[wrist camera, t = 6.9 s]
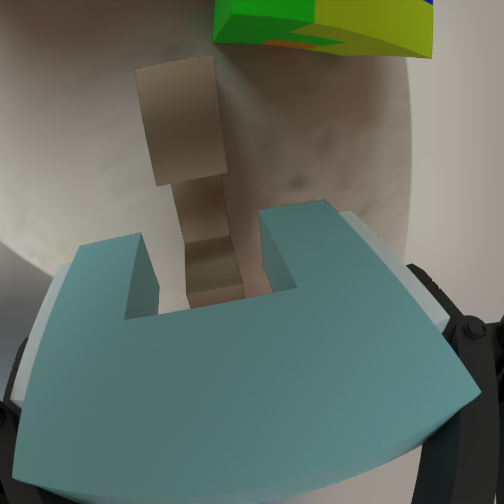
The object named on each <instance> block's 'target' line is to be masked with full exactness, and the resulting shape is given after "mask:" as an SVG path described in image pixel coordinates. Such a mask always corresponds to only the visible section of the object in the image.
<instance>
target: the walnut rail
mask: <svg viewBox="0 0 504 504" xmlns="http://www.w3.org/2000/svg"><path fill="white" fill-rule="evenodd" d="M134 70H135V77H136V83H137V90H138V96H139V102H140V107H141V113H142V118H143V124H144V129H145V134H146V139H147V144H148V149H149V154H150V158H151V163H152V168H153V172H154V177H155V181H156V185H157V186H162V185H166V184H171V187H172V192H173V196H174V201H175V205H176V209H177V214H178V218H179V222H180V226H181V231H182V235H183V239H184V243H185V273H186V295H187V298H188V301H189V305H190V308H191V309H194V308H199V307H205V306H210V305H215V304H220V303H226V302H231V301H236V300H241V299H245V294H244V287H243V282H242V278H241V275H240V271H239V268H238V264H237V260H236V257H235V253H234V249H233V246H232V242H231V238H230V234H229V228H228V221H227V214H226V207H225V201H224V194H223V187H222V180H221V174H225V173H228V171H227V163H226V155H225V148H224V140H223V132H222V124H221V116H220V107H219V99H218V91H217V83H216V74H215V66H214V57H213V55H205V56H198V57H192V58H186V59H180V60H175V61H169V62H165V63H160V64H155V65H151V66H146V67H142V68H138V69H134Z"/></svg>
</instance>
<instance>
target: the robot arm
mask: <svg viewBox="0 0 504 504" xmlns="http://www.w3.org/2000/svg"><path fill="white" fill-rule="evenodd" d="M338 213H339V214H340V215H341V216H342V217H343V218H344V219H345V220H346V221H347V223H348V224H349V225H350V226H351V227H352V228H353V229H354V230H355V231H356V232H357V233H358V234H359V235H360V236H361V238H362V239H363V240H364V241H365V242H366V243H367V244H368V245H369V246H370V247H371V249H372V250H373V251H374V252H375V253H376V254H377V255H378V256H379V258H380V259H381V260H382V261H383V262H384V263H385V264H386V266H387V267H388V268H389V269H390V270H391V271H392V273H393V274H394V275H395V276H396V277H397V278H398V280H399V281H400V282H401V283H402V284H403V286H404V287H405V288H406V289H407V290H408V292H409V293H410V294H411V295H412V297H413V298H414V299H415V300H416V302H417V303H418V304H419V305H420V307H421V308H422V309H423V310H424V312H425V313H426V314H427V315H428V317H429V318H430V319H431V321H432V322H433V323H434V325H435V326H436V327H437V329H438V330H439V331H440V333H441V334H442V335H443V337H444V338H445V339H446V341H447V342H448V343H449V345H450V346H451V348H452V349H453V350H454V352H455V353H456V355H457V356H458V357H459V359H460V360H461V362H462V363H463V365H464V366H465V368H466V369H467V371H468V372H469V374H470V375H471V377H472V378H473V380H474V381H475V383H476V384H477V386H478V387H479V389H480V390H481V393H480V394H479V396H478V397H477V398H475V399H474V400H472V401H471V402H469V403H468V404H466V405H465V406H464V407H462V408H461V409H460V410H459V411H458V412H457V413H456V414H455V415H453V416H452V417H451V418H450V419H449V420H448V421H447V422H446V423H445V424H444V425H443V426H442V427H441V428H440V429H439V430H437V431H436V432H435V433H434V434H433V435H432V436H431V437H429V438H428V439H427V440H426V441H425V442H424V443H423V444H422V451H421V458H420V464H419V470H418V475H417V480H416V484H415V489H414V493H413V498H412V502H411V504H494V500H495V493H496V504H504V315H503V317H502V319H501V321H500V322H496V323H489V324H485V323H484V322H483V321H482V320H480V319H479V318H477V317H474V316H471V315H470V316H469V315H467V316H464V315H463V314H462V313H461V312H460V311H459V309H458V308H457V307H456V306H455V305H454V304H453V302H452V301H451V300H450V299H449V298H448V297H447V296H446V294H445V293H444V292H443V291H442V290H441V289H439V287H438V285H437V284H436V283H435V282H433V281H432V279H431V278H430V277H429V276H428V275H427V273H426V272H425V271H424V270H422V269H421V268H419V267H417V266H416V265H414V264H409V265H405V264H404V263H403V262H402V261H401V260H400V259H399V258H398V257H397V256H396V255H395V253H394V252H393V251H392V250H391V249H390V248H389V247H388V246H387V245H386V244H385V243H384V242H383V241H382V240H381V239H380V238H379V237H378V236H377V235H376V234H375V233H374V232H373V231H372V230H371V229H370V228H369V227H368V226H367V225H366V224H365V223H364V222H363V221H362V220H361V219H360V218H359V217H358V216H357V215H356V214H355V213H354V212H353V211H352V210H348V211H341V212H338ZM71 264H72V263H68V264H63V265H60V267H59V269H58V271H57V273H56V275H55V277H54V279H53V281H52V283H51V286H50V288H49V290H48V292H47V294H46V297H45V299H44V301H43V304H42V306H41V308H40V311H39V313H38V315H37V318H36V320H35V323H34V325H33V328H32V331H31V333H30V336H29V337H27V338H25V340H24V341H23V343H22V344H21V346H20V347H19V349H18V352H17V355H16V358H15V360H16V361H15V362H14V364H13V367H12V369H13V370H12V371H11V373H10V377H9V380H8V383H7V387H6V390H5V394H4V398H3V402H1V401H0V504H80V503H77V502H75V501H72V500H69V499H66V498H64V497H61V496H58V495H56V494H53V493H51V492H49V491H46V490H44V489H42V488H39V487H37V486H35V485H32V484H28V483H24V482H21V481H18V480H16V479H14V478H12V473H13V463H14V454H15V446H16V440H17V433H18V427H19V422H20V417H21V412H22V407H23V402H24V398H25V394H26V390H27V386H28V382H29V378H30V374H31V371H32V367H33V364H34V360H35V357H36V354H37V350H38V347H39V344H40V341H41V338H42V335H43V332H44V330H45V327H46V324H47V321H48V318H49V316H50V313H51V311H52V308H53V305H54V303H55V300H56V298H57V295H58V293H59V291H60V288H61V286H62V284H63V281H64V279H65V277H66V274H67V272H68V270H69V268H70V266H71Z"/></svg>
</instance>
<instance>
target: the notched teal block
mask: <svg viewBox="0 0 504 504" xmlns="http://www.w3.org/2000/svg"><path fill="white" fill-rule="evenodd" d="M259 219H260V231H261V242H262V254H263V266H264V269H265V272H266V275H267V277H268V280H269V282H270V285H271V287H272V290H273V292H274V293H270V294H265V295H261V296H256V297H251V298H246V299H241V300H236V301H231V302H226V303H220V304H215V305H210V306H205V307H199V308H194V309H188V310H182V311H177V312H171V313H165V314H159V315H158V305H159V288H160V287H159V284H158V281H157V278H156V275H155V273H154V270H153V267H152V264H151V261H150V258H149V255H148V252H147V249H146V246H145V243H144V240H143V237H142V234H141V232H140V233H136V234H131V235H126V236H122V237H117V238H113V239H108V240H104V241H100V242H95V243H91V244H87V245H82V246H80V247H79V249H78V251H77V253H76V255H75V257H74V259H73V261H72V264H71V266H70V268H69V270H68V272H67V274H66V277H65V279H64V281H63V284H62V286H61V288H60V291H59V293H58V295H57V298H56V300H55V303H54V305H53V308H52V311H51V313H50V316H49V318H48V321H47V324H46V327H45V330H44V332H43V335H42V338H41V341H40V344H39V347H38V350H37V354H36V357H35V360H34V364H33V367H32V371H31V374H30V378H29V382H28V386H27V390H26V394H25V398H24V402H23V407H22V412H21V417H20V422H19V427H18V433H17V440H16V446H15V454H14V463H13V473H12V478H14V479H16V480H18V481H21V482H24V483H28V484H32V485H35V486H37V487H39V488H42V489H44V490H46V491H49V492H51V493H53V494H56V495H58V496H61V497H64V498H66V499H69V500H72V501H75V502H77V503H80V504H259V503H264V502H269V501H274V500H278V499H283V498H287V497H291V496H295V495H299V494H302V493H306V492H309V491H313V490H316V489H319V488H323V487H326V486H329V485H332V484H335V483H338V482H340V481H343V480H346V479H349V478H351V477H354V476H357V475H359V474H362V473H364V472H366V471H369V470H371V469H374V468H376V467H378V466H380V465H383V464H385V463H387V462H389V461H391V460H393V459H395V458H398V457H400V456H402V455H404V454H406V453H408V452H409V451H411V450H413V449H415V448H417V447H419V446H421V445H422V444H423V443H424V442H425V441H426V440H427V439H428V438H429V437H431V436H432V435H433V434H434V433H435V432H436V431H437V430H439V429H440V428H441V427H442V426H443V425H444V424H445V423H446V422H447V421H448V420H449V419H450V418H451V417H452V416H453V415H455V414H456V413H457V412H458V411H459V410H460V409H461V408H462V407H464V406H465V405H466V404H468V403H469V402H471V401H472V400H474V399H475V398H477V397H478V396H479V394H480V393H481V390H480V389H479V387H478V386H477V384H476V383H475V381H474V380H473V378H472V377H471V375H470V374H469V372H468V371H467V369H466V368H465V366H464V365H463V363H462V362H461V360H460V359H459V357H458V356H457V355H456V353H455V352H454V350H453V349H452V348H451V346H450V345H449V343H448V342H447V341H446V339H445V338H444V337H443V335H442V334H441V333H440V331H439V330H438V329H437V327H436V326H435V325H434V323H433V322H432V321H431V319H430V318H429V317H428V315H427V314H426V313H425V312H424V310H423V309H422V308H421V307H420V305H419V304H418V303H417V302H416V300H415V299H414V298H413V297H412V295H411V294H410V293H409V292H408V290H407V289H406V288H405V287H404V286H403V284H402V283H401V282H400V281H399V280H398V278H397V277H396V276H395V275H394V274H393V273H392V271H391V270H390V269H389V268H388V267H387V266H386V264H385V263H384V262H383V261H382V260H381V259H380V258H379V256H378V255H377V254H376V253H375V252H374V251H373V250H372V249H371V247H370V246H369V245H368V244H367V243H366V242H365V241H364V240H363V239H362V238H361V236H360V235H359V234H358V233H357V232H356V231H355V230H354V229H353V228H352V227H351V226H350V225H349V224H348V223H347V221H346V220H345V219H344V218H343V217H342V216H341V215H340V214H339V213H338V212H337V211H336V210H335V209H334V208H333V207H332V206H331V205H330V204H329V203H328V202H327V201H326V200H319V201H312V202H305V203H299V204H292V205H286V206H280V207H274V208H268V209H262V210H259Z"/></svg>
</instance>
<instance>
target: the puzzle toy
mask: <svg viewBox="0 0 504 504" xmlns="http://www.w3.org/2000/svg"><path fill="white" fill-rule="evenodd" d="M212 43H242V44H259V45H272V46H282V47H291V48H298V49H306V50H312V51H318V52H324V53H330V54H335V55H340V56H402V57H417V58H428V59H432V43H433V0H214V18H213V40H212Z"/></svg>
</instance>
